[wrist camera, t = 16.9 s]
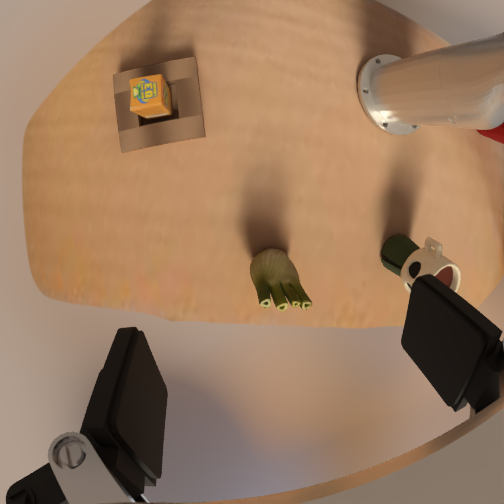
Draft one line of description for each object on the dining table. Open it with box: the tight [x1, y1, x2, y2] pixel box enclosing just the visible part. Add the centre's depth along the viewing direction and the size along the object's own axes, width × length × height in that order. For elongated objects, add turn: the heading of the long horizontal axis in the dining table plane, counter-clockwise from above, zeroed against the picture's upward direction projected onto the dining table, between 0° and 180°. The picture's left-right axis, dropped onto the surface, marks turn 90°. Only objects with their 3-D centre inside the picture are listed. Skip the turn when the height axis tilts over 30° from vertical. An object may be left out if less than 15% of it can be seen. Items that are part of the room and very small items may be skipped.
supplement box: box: [129, 74, 173, 119], centre depth 26 cm, size 3×3×10 cm
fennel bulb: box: [250, 248, 312, 311], centre depth 36 cm, size 6×5×12 cm
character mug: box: [381, 235, 461, 293], centre depth 38 cm, size 11×7×13 cm, turn 8°
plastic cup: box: [477, 122, 504, 144], centre depth 31 cm, size 11×11×12 cm
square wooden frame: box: [113, 57, 205, 153], centre depth 31 cm, size 10×10×4 cm
